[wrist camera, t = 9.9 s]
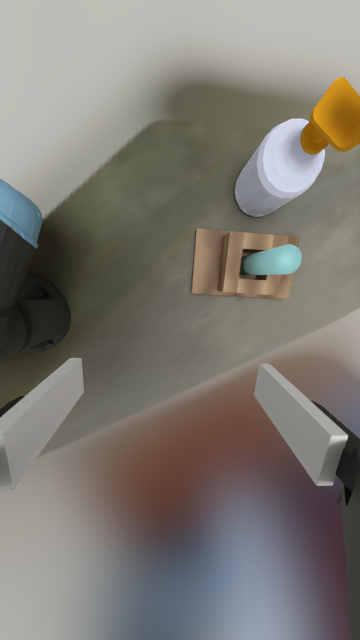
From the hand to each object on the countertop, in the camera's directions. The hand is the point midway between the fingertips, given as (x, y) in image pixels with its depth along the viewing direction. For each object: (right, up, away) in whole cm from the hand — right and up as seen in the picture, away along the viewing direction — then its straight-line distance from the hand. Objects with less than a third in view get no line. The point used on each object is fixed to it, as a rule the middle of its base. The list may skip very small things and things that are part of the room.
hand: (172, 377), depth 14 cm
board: (+13, +15, +24) cm, 32 cm away
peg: (+13, +15, +23) cm, 31 cm away
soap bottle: (+15, +28, +22) cm, 39 cm away
